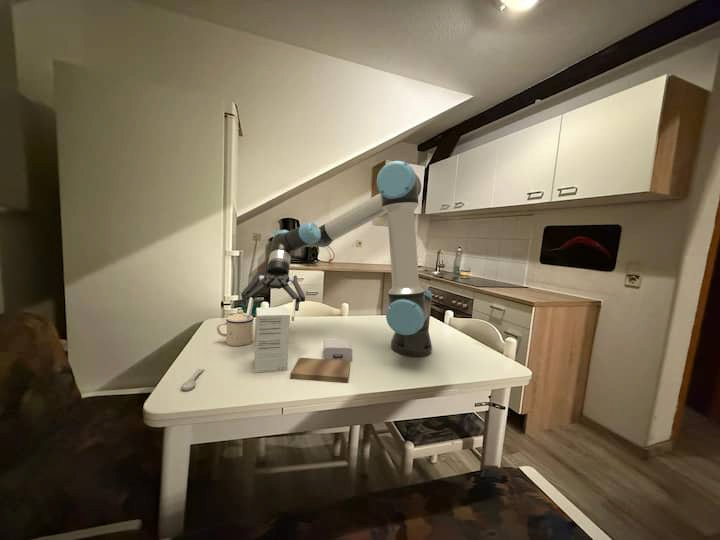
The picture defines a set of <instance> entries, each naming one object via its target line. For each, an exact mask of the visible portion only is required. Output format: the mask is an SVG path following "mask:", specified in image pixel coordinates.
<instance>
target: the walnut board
mask: <svg viewBox="0 0 720 540" xmlns="http://www.w3.org/2000/svg"><path fill="white" fill-rule="evenodd" d="M296 361H297V362H296V363H295V364H294V366H293V368H292V369H291V372H290V373H289V374H290V375H289V378H290V379H292V380H293V379H294V380H307V381H319V382H332V383H345V384H346V383H349V375H350V368H351V361H341V360H327V359H323V358H311V357H299V358H298V359H297V360H296Z"/></svg>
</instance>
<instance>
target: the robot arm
mask: <svg viewBox="0 0 720 540" xmlns="http://www.w3.org/2000/svg"><path fill="white" fill-rule="evenodd" d="M376 177H377V178H376V187H377V190H378V192H379V193H378V194H376V195H373V196H372V197H370V198H369V199H367V200H365V201H363V202H361V203H360V204H358V205H356V206H355V207H352V208H351V209H348V210H347V211H346V212H344V213H341V214H340V215H338V216H336V217H335V218H333V219H330V221H329V220H328V221H327V222H325V223H324V224H322V225H321V226H319V227H318V225H317V224H316V223H315V222H313V221H309V222H306V223H303V224H300V226H298V227H295V228H294V229H291V230H290V231H289V230H287V229H282V230H281V229H278V230H276V231H275V233H273V238H272V240H271V247H270V251H269V252H270V253H269V258H268V263H267V268H266V272H265V273H266V274H265V275H260V273H259V272H258V273H256V274H255V276H254V278H253V280H252V281H251V282H249V284H248V285H247V286H246V288H245V289H244V290H243V291H242V292H241V293H240V294H241V299H242V300H245V303H244V307H245V310H246V312H245V313H246V317H247V320H250V316H252V311H253V306H254V299H256V298H257V297H258V296H260V295H261V294H262V293H264V292H265V291H267V290H269V289H273V290H274V289H277V290H278V289H279V290H281V289H283V290H284V291H285V292H286V293H287V294H288V295H289V296H290V297H291V299H292V300H293V301H292V308H291V310H292V311H291V322H294V321H295V315H296V312H298V311H299V309H300V303H301V302H302V303H304V302H306V295H305V293H304V291H303V289H302V287H301V285H300V284H299V282H298V276H297V275H293V276H289V273H290V266H291V260H292V254H293V253H294V252H297V251H300V250H301V249H304V248H306V247H308V248H309V247H311V248H313V247H320V248H326V247H329V246H330V245H331V244H332V243H333V242H334V241H335V240H338V239H339V238H341V237H343V236H345V235H346V234H348V233H351V232H352V231H355V230H356V229H358V228H360V227H362V226H364V225H366V224H368V223H370V222H372V221H373V220H376V219H378V218H379V217H382V216H383V215H385V214H387V226H388V227H387V229H388V242H389V253H390V255H389V256H390V270H391V284H392V286H391V288H390V289H389V290H388V291H387V292H388V293H387V294H388V296H387V297H388V306H387V309H386V313H385V319H386V323H387V324H388V326H389V328H390V329H391V330H392V331H394V334H393V336H392V339H391V341H390V348H391V350H392V351H394V352H396V353H397V354H400V355H404V356H409V357H414V358H415V357H416V358H417V357H426V356H430V355H431V353H432V351H433V350H432V349H433V346H432V345H433V344H432V342H431V341H432V340H431V336H430V333H429V331H430V330H429V329H430V327H429V326H430V317H431V309H432V301H433V298H432V295H433V294H432V291H430V290H427V289H424V288H422V287H421V286H420V278H419V277H420V276H419V267H418V265H419V264H418V252H417V251H418V250H417V249H418V248H417V235H416V234H417V233H416V217H415V210H416V209H417V208H418V207H419V205H420V203H419V196H420V195H421V191H422V181H421V180H420V177H419V176H418V175H417V173H416V171H415V170H414V168H413V167H412V165H410V164H409V163H407V162H405V161H403V160H394V161H390V162H388V163H386V164H385V165H384V166H383V167H381V169H380V170H379V172H378V174H377V176H376ZM261 282H262V283H261ZM289 282H291V284H292V285H293V287H294V289H295V290H296V292H295V290H293V288H292V287H291V286H290V285H289ZM260 283H261V284H260ZM259 284H260V285H259ZM258 285H259V286H258Z"/></svg>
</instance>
